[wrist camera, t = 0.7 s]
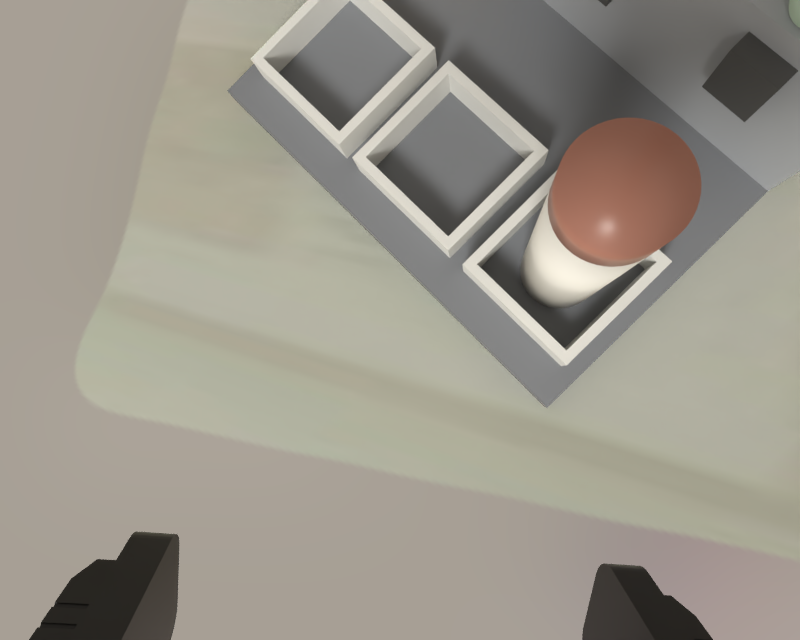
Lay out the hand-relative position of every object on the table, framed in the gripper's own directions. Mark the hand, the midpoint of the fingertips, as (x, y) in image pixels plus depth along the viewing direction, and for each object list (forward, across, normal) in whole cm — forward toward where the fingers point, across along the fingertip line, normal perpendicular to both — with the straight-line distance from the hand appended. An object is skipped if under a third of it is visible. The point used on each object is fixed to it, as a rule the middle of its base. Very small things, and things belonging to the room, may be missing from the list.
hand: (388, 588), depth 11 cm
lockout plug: (+20, -9, -3) cm, 23 cm away
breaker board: (+25, -6, -10) cm, 27 cm away
